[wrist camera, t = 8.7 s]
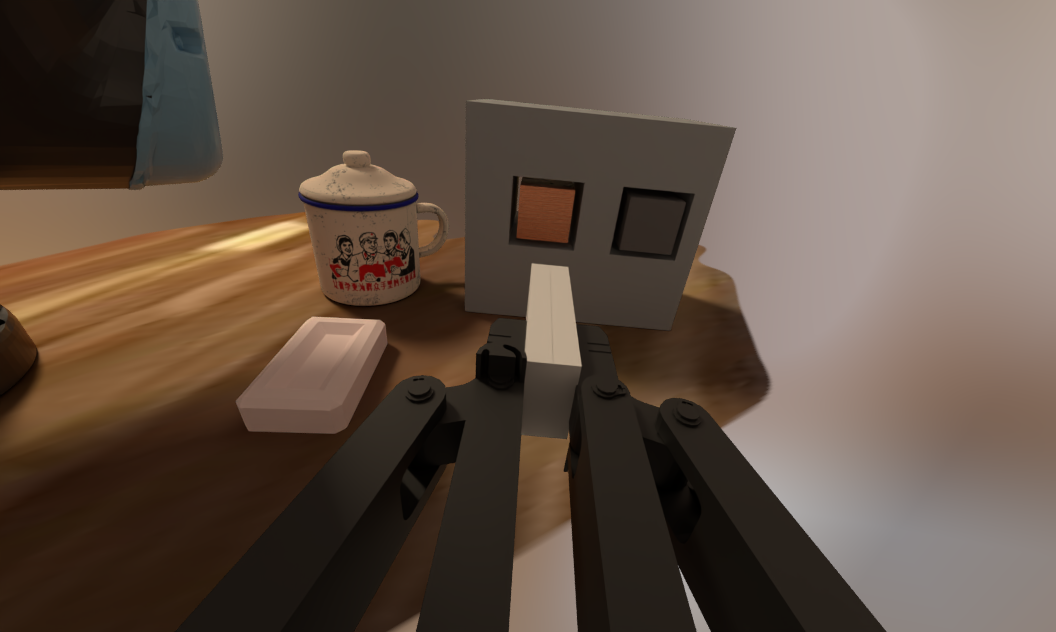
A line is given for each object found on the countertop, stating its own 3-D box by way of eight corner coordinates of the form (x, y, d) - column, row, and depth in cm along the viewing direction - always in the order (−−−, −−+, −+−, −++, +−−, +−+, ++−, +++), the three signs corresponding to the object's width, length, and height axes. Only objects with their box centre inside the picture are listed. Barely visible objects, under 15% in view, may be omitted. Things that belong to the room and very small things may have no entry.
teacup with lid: (326, 318, 31) (294, 162, 25) (312, 273, 37) (284, 142, 31) (466, 292, 36) (467, 162, 31) (433, 258, 43) (428, 145, 37)
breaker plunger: (516, 237, 30) (520, 184, 28) (522, 205, 38) (526, 163, 36) (567, 243, 30) (575, 190, 28) (562, 209, 39) (568, 167, 37)
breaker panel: (464, 313, 33) (464, 100, 25) (481, 266, 42) (486, 99, 34) (671, 333, 33) (738, 128, 25) (644, 282, 42) (687, 119, 34)
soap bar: (241, 435, 21) (227, 402, 19) (315, 340, 28) (308, 312, 27) (344, 438, 21) (337, 405, 20) (389, 344, 29) (386, 316, 28)
